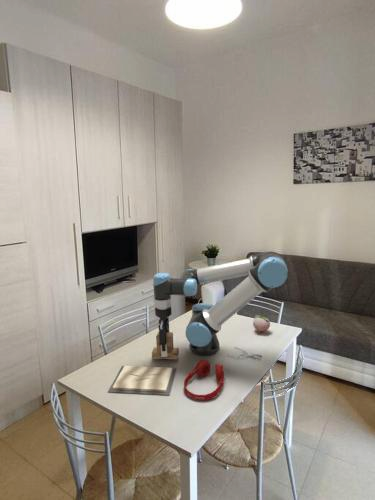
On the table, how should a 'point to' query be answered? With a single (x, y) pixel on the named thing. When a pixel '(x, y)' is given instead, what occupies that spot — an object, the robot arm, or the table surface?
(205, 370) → the headphones
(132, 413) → the table surface
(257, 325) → the decorative fruit
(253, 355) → the pliers
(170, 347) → the stepped wooden block
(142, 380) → the board
